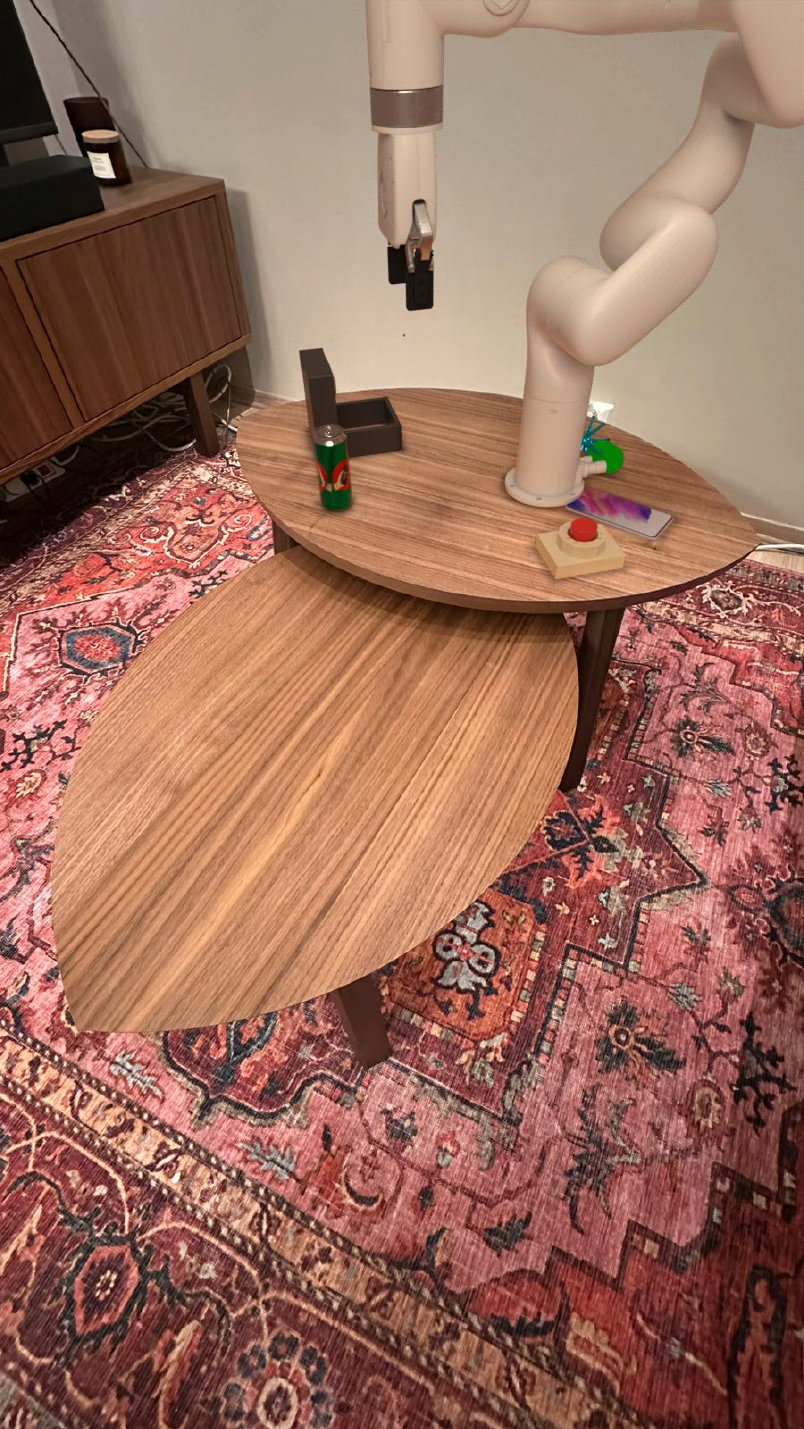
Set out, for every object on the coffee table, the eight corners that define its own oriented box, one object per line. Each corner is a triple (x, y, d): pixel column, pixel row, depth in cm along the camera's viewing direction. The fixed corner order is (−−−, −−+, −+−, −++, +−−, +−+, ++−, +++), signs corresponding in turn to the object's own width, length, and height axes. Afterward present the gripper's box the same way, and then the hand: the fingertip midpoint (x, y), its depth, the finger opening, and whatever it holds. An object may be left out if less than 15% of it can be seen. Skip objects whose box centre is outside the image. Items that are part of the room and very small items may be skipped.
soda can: (355, 496, 110) (348, 423, 101) (350, 513, 107) (343, 439, 98) (324, 495, 110) (314, 422, 101) (318, 512, 107) (308, 439, 98)
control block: (599, 536, 101) (604, 512, 98) (622, 568, 96) (629, 543, 93) (534, 546, 100) (538, 522, 97) (555, 579, 94) (559, 555, 91)
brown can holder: (388, 420, 127) (384, 340, 117) (402, 450, 120) (399, 366, 109) (309, 431, 125) (298, 350, 115) (318, 461, 118) (308, 378, 107)
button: (589, 526, 96) (591, 515, 95) (599, 541, 94) (602, 530, 93) (565, 530, 96) (566, 519, 95) (575, 545, 94) (577, 534, 92)
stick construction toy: (548, 446, 114) (578, 403, 111) (558, 453, 121) (587, 412, 117) (604, 488, 112) (636, 445, 108) (611, 493, 118) (642, 452, 114)
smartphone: (655, 539, 99) (563, 506, 106) (653, 544, 100) (563, 511, 106) (676, 515, 103) (586, 485, 109) (674, 520, 104) (585, 489, 110)
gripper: (356, 100, 76) (366, 277, 89) (389, 126, 65) (395, 324, 77) (421, 96, 77) (422, 271, 90) (465, 120, 65) (459, 316, 78)
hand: (410, 295), depth 83 cm, fingers open, 9 cm apart
